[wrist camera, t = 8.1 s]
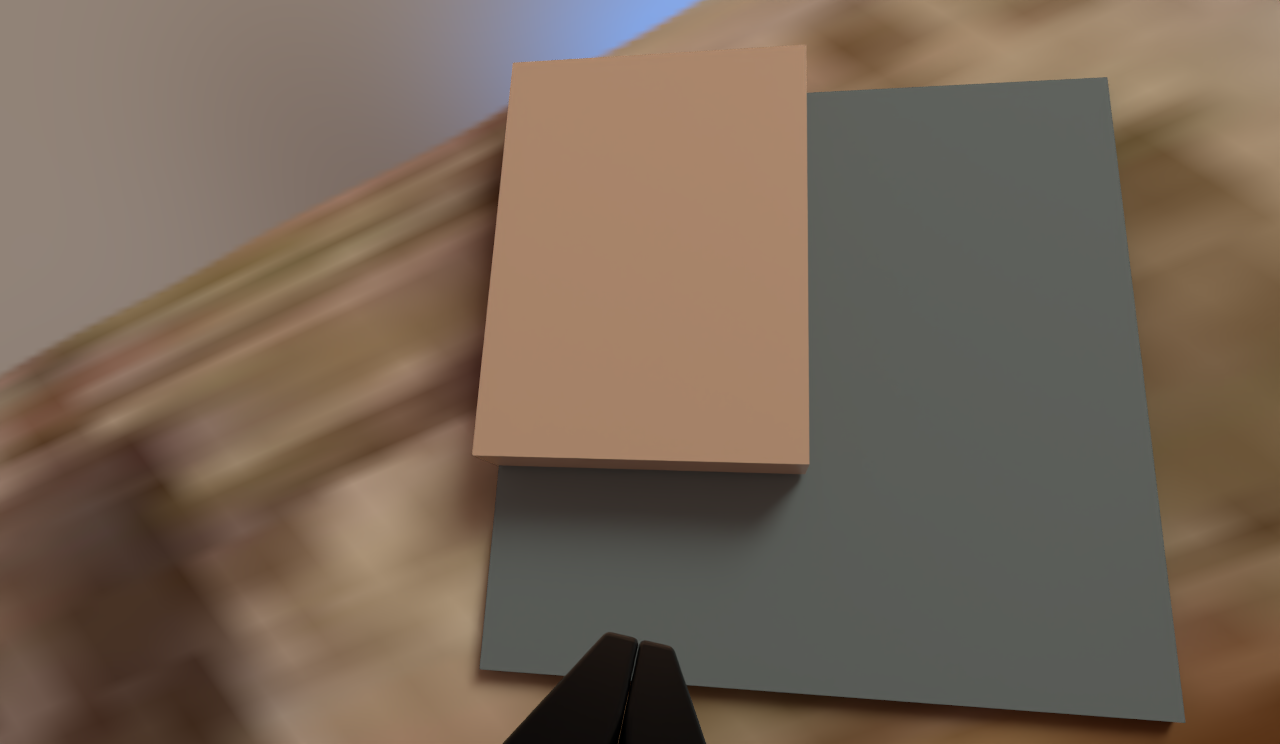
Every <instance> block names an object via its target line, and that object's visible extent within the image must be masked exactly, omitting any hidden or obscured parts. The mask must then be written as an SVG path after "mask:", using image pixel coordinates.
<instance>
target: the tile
mask: <svg viewBox="0 0 1280 744" xmlns="http://www.w3.org/2000/svg"><path fill="white" fill-rule="evenodd" d="M472 456H475V457H477V458H480V459H482V460H485V461H487V462H490V463H492V464H495V465H503V466H538V467H572V468H606V469H641V470H675V471H709V472H744V473H778V474H806V471H807V469H808V467H809V337H808V200H807V63H806V45H792V46H776V47H760V48H744V49H728V50H712V51H695V52H679V53H663V54H647V55H631V56H615V57H599V58H583V59H567V60H551V61H535V62H521V63H520V62H519V63H513V69H512V77H511V87H510V96H509V106H508V115H507V125H506V134H505V144H504V154H503V163H502V173H501V182H500V192H499V201H498V211H497V221H496V230H495V240H494V249H493V259H492V268H491V278H490V288H489V297H488V307H487V316H486V326H485V335H484V345H483V354H482V364H481V374H480V383H479V393H478V402H477V412H476V421H475V431H474V441H473V450H472Z"/></svg>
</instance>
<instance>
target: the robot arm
mask: <svg viewBox="0 0 1280 744" xmlns="http://www.w3.org/2000/svg"><path fill="white" fill-rule="evenodd" d="M637 649H638V652H637ZM636 654H637V656H636ZM635 659H636V661H635ZM634 664H635V666H634ZM633 668H634V671H633ZM632 673H633V676H632ZM631 678H632V680H631ZM630 683H631V685H630ZM629 688H630V690H629ZM628 692H629V695H628ZM627 697H628V700H627ZM626 702H627V704H626ZM625 707H626V709H625ZM624 711H625V714H624ZM623 716H624V719H623ZM622 721H623V724H622ZM621 726H622V728H621ZM620 731H621V733H620ZM619 735H620V738H619ZM618 740H619V743H618ZM503 744H706V742H705V739H704V736H703V733H702V730H701V727H700V724H699V721H698V718H697V715H696V712H695V709H694V706H693V703H692V700H691V697H690V694H689V691H688V688H687V685H686V682H685V679H684V676H683V674H682V671H681V668H680V665H679V662H678V659H677V656H676V653H675V651H674V649H673V648H672V647H671V646H668V645H664V644H660V643H655V642H651V641H647V640H644V641H641V642H640V644H639V647H638V641H637V639H636V638H634V637H630V636H626V635H621V634H617V633H613V632H607V633H605V634H604V635H603V636H602V637H601V638H600V639H599V640H598V641H597V642H596V643H595V644H594V645H593V646H592V647H591V648H590V649H589V651H588V652H587V653H586V654H585V655H584V656H583V657H582V658H581V659H580V660H579V661H578V662H577V664H576V665H575V666H574V667H573V668H572V669H571V670H570V671H569V672H568V673H567V674H566V675H565V677H564V678H563V679H562V680H561V681H560V682H559V683H558V684H557V685H556V686H555V687H554V688H553V690H552V691H551V692H550V693H549V694H548V695H547V696H546V697H545V698H544V699H543V700H542V701H541V702H540V704H539V705H538V706H537V707H536V708H535V709H534V710H533V711H532V712H531V713H530V714H529V715H528V717H527V718H526V719H525V720H524V721H523V722H522V723H521V724H520V725H519V726H518V727H517V728H516V730H515V731H514V732H513V733H512V734H511V735H510V736H509V737H508V738H507V739H506V740H505V741H504V743H503Z"/></svg>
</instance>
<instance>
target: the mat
mask: <svg viewBox="0 0 1280 744" xmlns="http://www.w3.org/2000/svg"><path fill="white" fill-rule="evenodd" d="M807 200H808V337H809V467H808V469H807V471H806V474H778V473H744V472H709V471H675V470H641V469H606V468H572V467H538V466H503V465H499V470H498V481H497V491H496V502H495V512H494V523H493V533H492V544H491V554H490V565H489V575H488V586H487V596H486V607H485V617H484V628H483V638H482V649H481V659H480V669H482V670H496V671H509V672H522V673H535V674H548V675H561V676H565V675H566V674H567V673H568V672H569V671H570V670H571V669H572V668H573V667H574V666H575V665H576V664H577V662H578V661H579V660H580V659H581V658H582V657H583V656H584V655H585V654H586V653H587V652H588V651H589V649H590V648H591V647H592V646H593V645H594V644H595V643H596V642H597V641H598V640H599V639H600V638H601V637H602V636H603V635H604V634H605V633H607V632H613V633H617V634H621V635H626V636H630V637H634V638H636V639H637V641H638V647H639V644H640V642H641V641H644V640H647V641H651V642H655V643H660V644H664V645H668V646H671V647H672V648H673V649H674V651H675V653H676V656H677V659H678V662H679V665H680V668H681V671H682V674H683V676H684V679H685V682H686V685H693V686H707V687H720V688H733V689H746V690H759V691H773V692H786V693H799V694H812V695H825V696H838V697H852V698H865V699H878V700H891V701H904V702H918V703H931V704H944V705H957V706H970V707H984V708H997V709H1010V710H1023V711H1036V712H1049V713H1063V714H1076V715H1089V716H1102V717H1115V718H1129V719H1142V720H1155V721H1168V722H1181V723H1185V715H1184V707H1183V699H1182V691H1181V682H1180V674H1179V666H1178V658H1177V649H1176V641H1175V633H1174V625H1173V616H1172V608H1171V600H1170V592H1169V583H1168V575H1167V567H1166V559H1165V550H1164V542H1163V534H1162V526H1161V517H1160V509H1159V501H1158V493H1157V484H1156V476H1155V468H1154V460H1153V451H1152V443H1151V435H1150V427H1149V418H1148V410H1147V402H1146V394H1145V385H1144V377H1143V369H1142V361H1141V352H1140V344H1139V336H1138V328H1137V319H1136V311H1135V303H1134V295H1133V286H1132V278H1131V270H1130V262H1129V253H1128V245H1127V237H1126V229H1125V220H1124V212H1123V204H1122V196H1121V187H1120V179H1119V171H1118V163H1117V154H1116V146H1115V138H1114V130H1113V121H1112V113H1111V105H1110V97H1109V88H1108V80H1107V77H1103V78H1084V79H1065V80H1045V81H1026V82H1007V83H988V84H968V85H949V86H930V87H911V88H891V89H872V90H853V91H834V92H814V93H807ZM637 652H638V649H637ZM636 656H637V654H636ZM635 661H636V659H635ZM634 666H635V664H634ZM633 671H634V668H633ZM632 676H633V673H632ZM631 680H632V678H631Z"/></svg>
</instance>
